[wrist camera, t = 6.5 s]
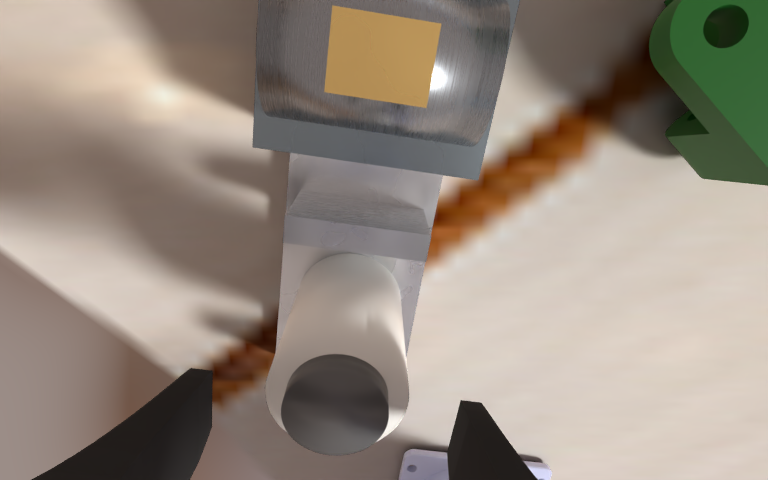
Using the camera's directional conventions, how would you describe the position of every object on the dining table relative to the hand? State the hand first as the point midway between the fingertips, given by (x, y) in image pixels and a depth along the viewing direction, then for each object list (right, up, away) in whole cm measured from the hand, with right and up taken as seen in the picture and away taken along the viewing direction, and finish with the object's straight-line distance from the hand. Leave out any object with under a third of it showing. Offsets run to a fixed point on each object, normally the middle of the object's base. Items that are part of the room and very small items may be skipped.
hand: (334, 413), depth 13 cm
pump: (0, +2, +7) cm, 7 cm away
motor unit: (+1, +7, +6) cm, 9 cm away
